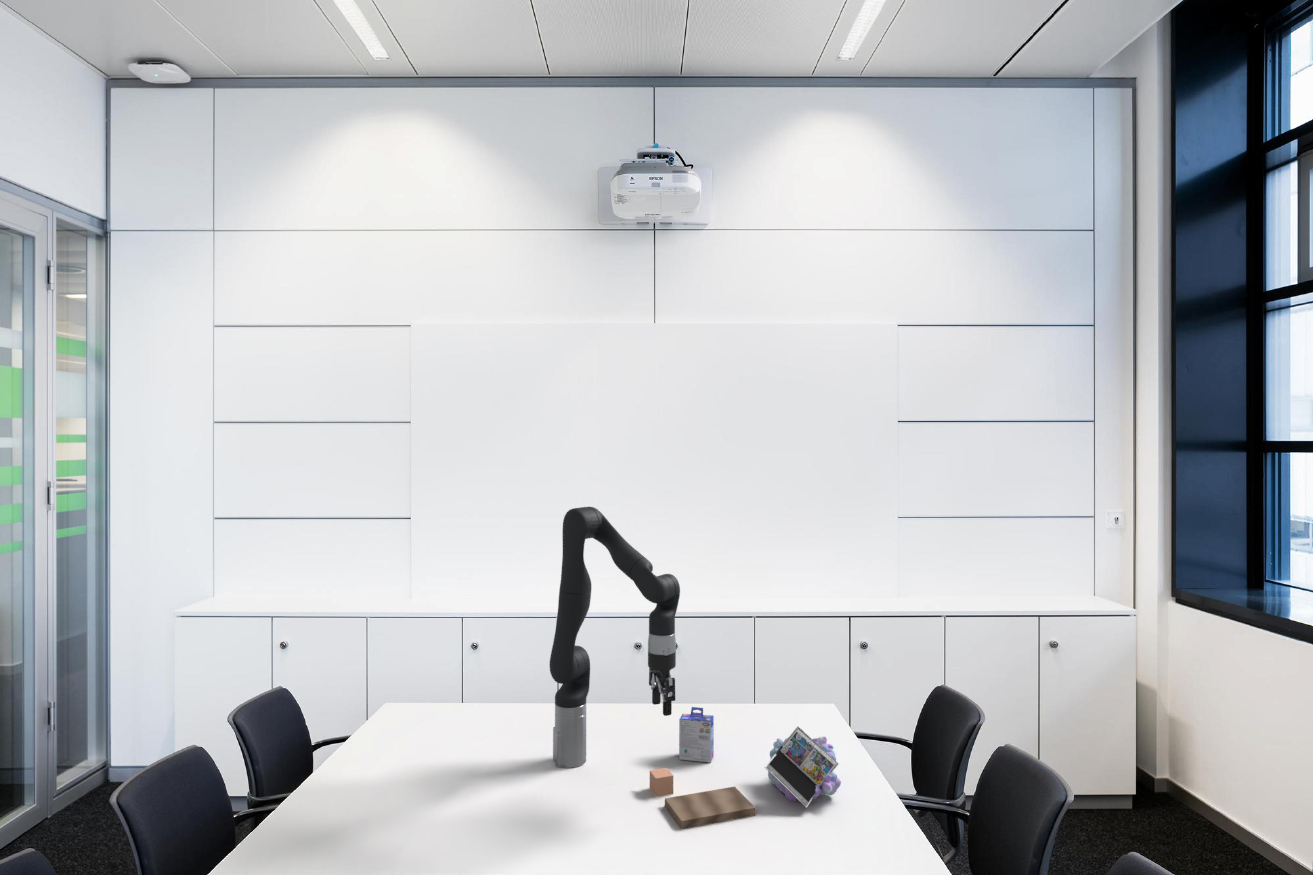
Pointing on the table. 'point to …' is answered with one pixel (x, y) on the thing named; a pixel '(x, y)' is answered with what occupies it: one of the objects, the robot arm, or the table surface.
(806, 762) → the lumpy iridescent figurine
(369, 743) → the table surface
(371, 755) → the table surface
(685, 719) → the ink cartridge box
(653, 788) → the terracotta cube
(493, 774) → the table surface
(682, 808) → the walnut board
